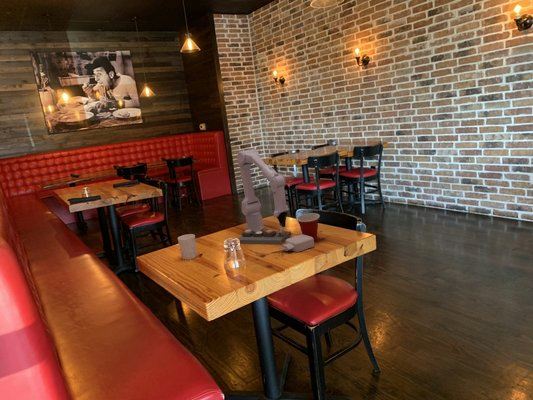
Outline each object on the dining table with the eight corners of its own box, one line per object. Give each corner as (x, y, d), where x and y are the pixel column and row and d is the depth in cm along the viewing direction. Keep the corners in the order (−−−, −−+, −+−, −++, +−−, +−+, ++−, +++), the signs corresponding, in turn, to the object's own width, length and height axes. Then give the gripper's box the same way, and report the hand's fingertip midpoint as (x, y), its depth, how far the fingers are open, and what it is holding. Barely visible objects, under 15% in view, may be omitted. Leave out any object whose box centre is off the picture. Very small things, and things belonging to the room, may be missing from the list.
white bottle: (275, 252, 180) (302, 243, 187) (287, 256, 172) (314, 247, 179) (274, 242, 179) (301, 233, 186) (286, 246, 171) (313, 237, 178)
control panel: (248, 234, 211) (248, 227, 210) (291, 235, 201) (290, 227, 200) (236, 243, 198) (235, 236, 198) (281, 244, 188) (280, 236, 188)
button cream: (257, 234, 202) (257, 231, 202) (263, 234, 201) (263, 231, 201) (255, 236, 199) (254, 233, 199) (260, 236, 198) (260, 233, 198)
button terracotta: (268, 232, 200) (267, 229, 199) (274, 232, 198) (273, 229, 198) (265, 234, 197) (265, 231, 196) (271, 234, 196) (271, 231, 195)
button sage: (246, 232, 205) (246, 229, 204) (252, 232, 203) (252, 229, 203) (244, 234, 202) (243, 231, 201) (249, 234, 200) (249, 231, 200)
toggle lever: (280, 232, 196) (280, 222, 197) (283, 232, 196) (284, 222, 197) (278, 232, 195) (279, 222, 196) (282, 232, 194) (282, 222, 195)
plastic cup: (296, 244, 186) (293, 219, 184) (302, 237, 196) (300, 213, 193) (318, 244, 182) (316, 219, 179) (324, 237, 191) (322, 212, 189)
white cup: (201, 254, 189) (197, 234, 187) (192, 260, 182) (189, 239, 180) (186, 254, 192) (183, 234, 190) (177, 260, 184) (174, 239, 182)
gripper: (282, 203, 187) (285, 231, 189) (292, 196, 200) (295, 222, 202) (268, 203, 190) (271, 231, 192) (279, 197, 202) (282, 222, 205)
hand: (282, 226), depth 197 cm, fingers closed, pressing on toggle lever
